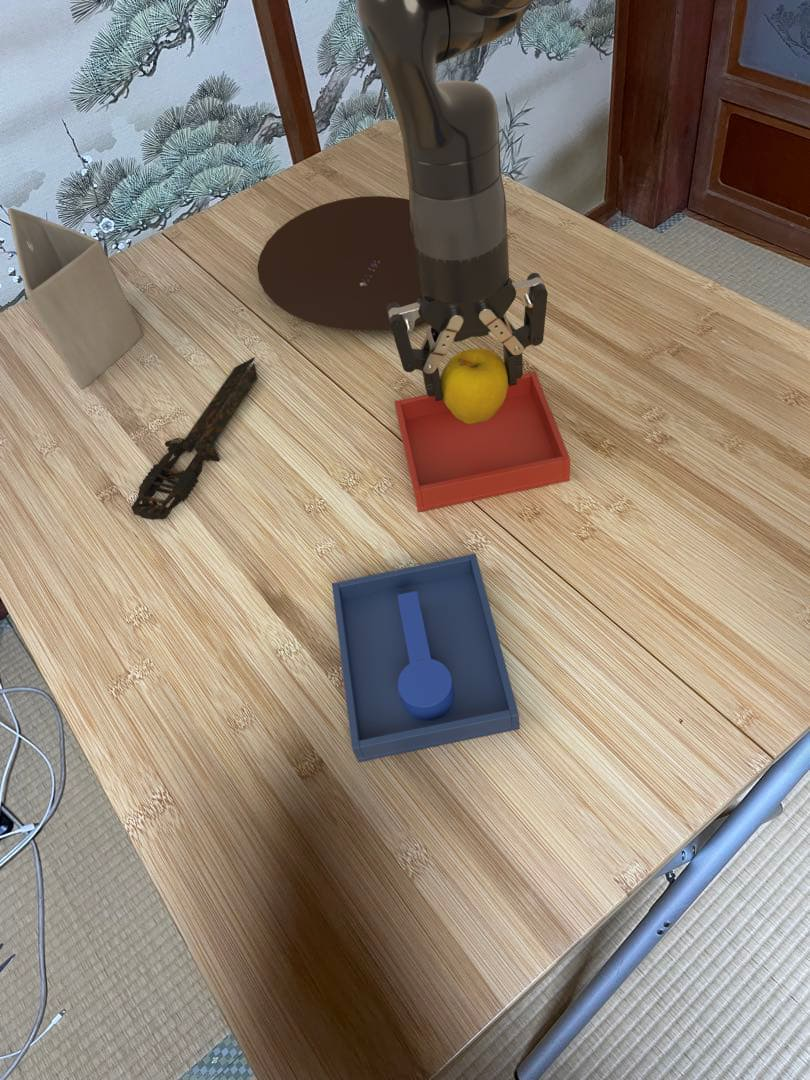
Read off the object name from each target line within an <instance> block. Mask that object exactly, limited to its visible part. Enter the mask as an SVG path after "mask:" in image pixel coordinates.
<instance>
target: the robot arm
mask: <svg viewBox="0 0 810 1080" xmlns="http://www.w3.org/2000/svg"><path fill="white" fill-rule="evenodd" d="M535 1H536V0H355V11H356V18H357V23H358V25H359V28H360V31H361V34H362V36H363V39H364V41H365V44H366V46H367V48H368V51H369V52H370V55H371V57H372V59H373V62H374V63H375V66H376V68H377V70H378V72H379V74H380V78H381V79H382V82H383V84H384V87H385V90H386V93H387V95H388V97H389V100H390V104H391V105H392V108H393V112H394V114H395V117H396V120H397V123H398V125H399V126H398V127H399V130H400V133H401V139H402V144H403V145H402V146H403V153H404V160H405V166H406V167H405V168H406V174H407V181H408V200H409V211H410V219H411V220H410V229H411V232H412V234H413V241H414V248H415V254H416V261H417V268H418V275H419V282H420V294H419V297H418V299H417V302H416V303H413V304H410V305H406V306H403V307H400V305H399V304H398V303H396V302H393V303H390V304H389V305H388V306H387V313H388V317H389V321H390V325H391V329H390V330H391V332H392V335H393V338H394V339H393V340H394V343H395V345H396V349H397V352H398V355H399V360H400V362H401V366H402V370H403V371H404V372H406V373H413V372H414V371H416V370H418V371H421V372H422V377H423V384H424V389H425V392H426V394H427V395H428V396H429V397H433V396H434V398H435V401H441V400H443V397H442V389H441V382H440V377H441V374H440V370H439V365H440V362H441V360H442V358H443V357H445V356H447V354H448V352H449V349H450V348H451V346H452V344H453V342H454V343H457V342H462V341H465V340H467V339H470V338H482V337H486V336H489V335H490V334H489V333H490V332H491V333H492V334H493V336H494V337H495V338H496V339H497V340H498V342H499V343H500V344H502V348H503V350H502V351H503V362H504V364H505V366H506V370H507V375H508V384H509V386H513V385H517V379H520V378H521V377H522V375H523V374H524V366H523V365H524V363H523V362H524V361H523V353H524V350H525V349H526V348H528V347H529V346H533V347H537V346H540V345H541V344H542V343H543V342H544V336H545V326H546V325H545V324H546V316H547V315H546V314H547V304H548V293H549V292H548V290H547V288H546V285H545V283H544V281H543V279H542V276H541V274H539V273H538V272H532V273H530V274H529V275H528V276H527V278H526V279H525V280H518V281H513V280H512V279H511V277H510V266H509V265H510V263H509V243H508V238H509V237H508V219H507V200H506V191H505V185H504V182H503V175H502V167H501V165H502V164H501V148H500V122H499V121H500V120H499V112H498V105H497V103H496V99H495V97H494V95H493V94H492V92H491V91H490V90H489V89H488V87H485V86H484V85H483V84H480V83H477V82H474V81H469V80H446V81H437V79H436V65H438V64H441V63H443V62H447V61H449V60H452V59H454V58H457V57H459V56H461V55H464V54H466V53H468V52H469V53H470V52H471V51H473V50H476V49H478V48H480V47H483V46H486V45H488V44H491V43H492V42H493V41H496V40H498V39H499V38H501V37H502V36H504V35H505V34H508V33H509V32H510V31H511V30H513V29H514V28H515V27H516V26H517V25H518V24H519V23H520V21H522V19H523V17H524V16H525V14H526V13H527V11H528V10H529V8H530V7H531V5H532V4H533V3H534V2H535ZM516 298H519V299H520V302H521V304H522V306H524V312H523V313H524V314H523V325H522V326H520V327H518V328H516V327H515V326H514V325H513V324H512V322H511V321H510V319H508V317H507V315H506V313H507V311H508V310H509V308H510V307H511V305H512V304H513V303H514V301H515V299H516ZM419 317H421V318H422V319H423V320H424V321H423V322H425V323H426V324H427V327H426V333H425V338H424V340H423V342H422V345H421V347H420V349H419V348H413V346H412V344H411V340H410V337H409V334H411V333H412V332H413V330H414V329H415V326H416V324H415V321H416V319H418V318H419Z"/></svg>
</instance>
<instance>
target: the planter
mask: <svg viewBox="0 0 810 1080" xmlns="http://www.w3.org/2000/svg"><path fill="white" fill-rule="evenodd" d="M7 215H8V220H9V225H10V228H11V235H12V238H13V243H14V247H15V253H16V257H17V261H18V266H19V271H20V274H21V279H22V283H23V287H24V288H23V289H24V292H25V295H26V298H27V300H28V302H29V303H30V305H31V307H32V308H33V311H34V312H35V314H36V315H37V317H38V319H39V321H40V323H41V324H42V326H43V328H44V330H45V331H46V333H47V335H48V336H49V338H50V340H51V342H52V344H53V345H54V347H55V348H56V350H57V353H58V354H59V356H60V357H61V359H62V361H63V363H64V364H65V367H66V368H67V369H68V371H69V373H70V375H71V376H72V378H73V380H74V381H75V383H76V385H77V387H78V388H79V389H80V390H83V389H85V388H86V387H88V386H89V385H90V384H91V383H92V382H94V381H95V380H96V379H97V378H99V377H100V376H101V375H102V374H103V373H104V372H105V371H107V370H108V369H109V368H110V367H111V366H113V365H114V364H115V363H116V362H117V361H118V360H119V359H120V358H121V357H123V356H124V355H125V354H127V352H128V351H129V350H131V349H132V347H133V346H134V345H136V343H137V342H138V341H140V340H141V338H143V336H144V333H143V331H142V329H141V326H140V324H139V321H138V320H137V318H136V316H135V314H134V311H133V309H132V307H131V305H130V303H129V300H128V299H127V297H126V294H125V293H124V290H123V288H122V286H121V284H120V281H119V280H118V277H117V275H116V273H115V271H114V268H113V266H112V265H111V261H110V260H109V258H108V256H107V254H106V251H105V249H104V247H103V245H102V243H101V241H100V240H99V239H96V238H94V237H92V236H90V235H88V234H85V233H83V232H80V231H77V230H76V229H72V228H69V227H66V226H64V225H60V224H58V223H55V222H53V221H49V220H47V219H44V218H42V217H40V216H36V215H33V214H31V213H28V212H25V211H22V210H19V209H16V208H14V207H13V208H12V207H9V208H8V209H7Z"/></svg>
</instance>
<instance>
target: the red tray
mask: <svg viewBox="0 0 810 1080" xmlns="http://www.w3.org/2000/svg"><path fill="white" fill-rule="evenodd" d="M543 389H544V388H543V386H542V383H541V382H540V379H539V377H538V374H537V372H536V371H532V372H531V371H530V372H526V373H523V375H522V377H521V378H520V379H517V385H513V386H509V384H508V389H507V394H506V397H505V400H504V402H503V404H502V406H501V407H500V408H499V409H498V411H497V412H496V413H495V414H494V415H493V416H492V417H491V418H490V419H489V420H487V421H484V422H479V423H475V424H467V423H465V422H463V421H461V420H460V419H458V418H456V417H455V416H454V415H453V413H452V412H451V411H450V409H449V408H448V407H447V406H446V404H445V402H444V401H443V400H441V401H435V398H434V396H433V397H429V396H428V395H427V393H426V394H422V395H416V396H411V397H408V398H407V397H406V398H403V399H397V400H394V402H393V403H394V406H395V407H394V408H395V412H396V418H397V423H398V426H399V431H400V437H401V440H402V446H403V450H404V455H405V458H406V464H407V467H408V472H409V476H410V481H411V486H412V491H413V495H414V500H415V504H416V508H417V512H418V513H422V512H427V511H431V510H432V511H433V510H436V509H439V508H445V507H451V506H456V505H459V504H465V503H470V502H474V501H479V500H484V499H489V498H493V497H499V496H502V495H508V494H513V493H517V492H522V491H527V490H532V489H537V488H542V487H546V486H550V485H551V486H552V485H555V484H556V485H557V484H560V483H565V482H569V481H570V480H571V479H570V477H571V458H570V455H569V453H568V450H567V447H566V444H565V443H564V440H563V437H562V435H561V431H560V430H559V427H558V424H557V422H556V420H555V417H554V414H553V412H552V409H551V407H550V404H549V402H548V400H547V397H546V395H545V392H544V390H543Z"/></svg>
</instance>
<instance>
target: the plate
mask: <svg viewBox="0 0 810 1080" xmlns="http://www.w3.org/2000/svg"><path fill="white" fill-rule="evenodd" d="M410 220H411V219H410V211H409V198H408V199H407V198H403V197H394V196H384V195H374V196H373V195H372V196H371V195H369V196H367V195H365V196H356V197H349V198H343V199H338V200H335V201H331V202H330V201H329V202H326V203H324V204H321V205H318V206H315V207H313V208H310V209H308V210H306V211H303V212H302V213H300V214H298V215H297V216H295V217H293V218H291V219H290V220H288V221H287V222H286V223H285V224H283V225H282V226H281V227H279V228H278V229H277V230H275V232H274V234H272V235H271V237H270V238H269V239H268V240H267V241H266V243H265V244H264V247H263V248H262V250H261V252H260V254H259V258H258V263H257V274H258V282H259V284H260V285H261V288H262V290H263V292H264V293H265V295H267V297H268V298H269V299H270V300H271V301H272V302H273V303H274V304H275V305H277V306H278V307H279V308H280V309H282V310H284V311H285V312H287V313H288V314H290V315H291V316H294V317H296V318H299V319H301V320H303V321H306V322H308V323H312V324H316V325H319V326H323V327H327V328H332V329H339V330H349V331H380V330H381V331H382V330H392V329H391V325H390V321H389V317H388V313H387V306H388V305H389V304H390V303H393V302H396V303H398V304H399V305H400V307H403V306H406V305H410V304H413V303H416V302H417V299H418V297H419V294H420V282H419V275H418V268H417V261H416V254H415V248H414V241H413V234H412V232H411V229H410ZM422 322H425V321H424V320H423V319H422V318H421V317H419V318H418V319H416V321H415V325H416V324H420V323H422Z"/></svg>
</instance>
